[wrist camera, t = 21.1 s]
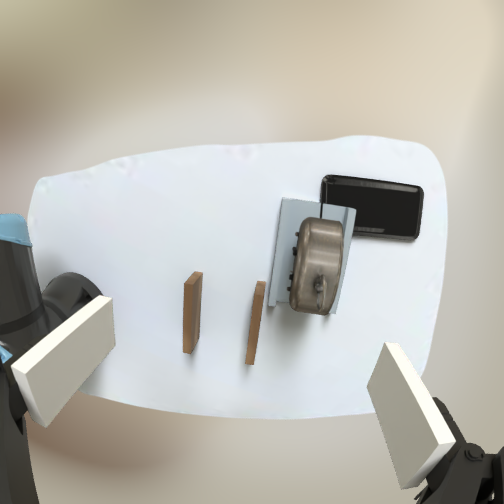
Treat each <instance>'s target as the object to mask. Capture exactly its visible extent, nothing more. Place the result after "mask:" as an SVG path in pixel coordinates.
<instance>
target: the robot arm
mask: <svg viewBox="0 0 504 504" xmlns="http://www.w3.org/2000/svg"><path fill="white" fill-rule="evenodd" d="M115 346H116V345H115V334H114V321H113V305H112V298H109V297H105V296H103V295H102V293H101V292H100V290H99V289H98V288H97V287H96V286H95V285H94V284H93V283H92V282H91V281H90V280H89V279H87V278H86V277H84V276H82V275H80V274H77V273H73V272H67V273H63V274H61V275H59V276H57V277H56V278H54V279H53V280H52V281H51V282H50V283H49V284H48V286H47V287H46V289H45V290H44V291H43V293H42V294H41V291H40V287H39V283H38V279H37V274H36V269H35V264H34V258H33V253H32V243H31V242H30V237H29V233H28V227H27V222H26V221H25V219H24V218H23V217H22V216H21V215H19V214H0V504H39V500H38V496H37V492H36V488H35V483H34V479H33V473H32V468H31V461H30V455H29V448H28V440H27V430H26V421H25V417H24V414H25V412H26V411H27V410H28V412H29V414H30V416H31V418H32V420H33V421H35V422H37V423H38V424H40V425H42V426H43V427H45V428H47V427H48V426H49V424H50V423H51V422H52V420H53V419H54V418H55V417H56V415H57V414H58V413H59V412H60V410H61V409H62V408H63V407H64V406H65V405H66V403H67V402H68V401H69V400H70V398H71V397H72V396H73V395H74V394H75V392H76V391H77V390H78V389H79V388H80V386H81V385H82V384H83V383H84V382H85V380H86V379H87V378H88V377H89V376H90V375H91V373H92V372H93V371H94V370H95V369H96V368H97V366H98V365H99V364H100V363H101V362H102V361H103V359H104V358H105V357H106V356H107V355H108V354H109V352H110V351H111V350H112V349H113V348H114V347H115ZM367 389H368V392H369V395H370V397H371V400H372V403H373V406H374V408H375V411H376V414H377V417H378V420H379V423H380V426H381V428H382V431H383V434H384V437H385V440H386V443H387V446H388V449H389V453H390V456H391V459H392V462H393V465H394V468H395V471H396V475H397V478H398V481H399V485H400V488H401V489H408V488H413V487H418V486H419V485H420V483H421V482H422V481H423V480H424V479H425V478H426V480H427V483H428V485H427V486H426V487H425V488H424V489H423V490H422V491H421V492H420V493H419V494H418V495H417V496H416V497H415V498H414V499H415V500H417V499H418V498H419V497H420V498H419V500H418V501H417V503H416V504H504V447H502V449H501V450H500V451H499V452H498V454H485V452H484V450H483V449H482V448H481V447H480V446H478V445H476V444H473V443H466V441H465V439H464V437H463V435H462V433H461V432H460V430H459V428H458V426H457V425H456V423H455V421H453V418H452V416H451V415H450V414H449V411H448V410H447V408H446V406H445V404H444V403H442V402H441V401H440V400H439V399H438V398H436V397H433V398H432V397H431V396H430V394H429V392H428V391H427V389H426V387H425V385H424V384H423V382H422V381H421V379H420V377H419V376H418V374H417V372H416V371H415V369H414V367H413V366H412V364H411V363H410V361H409V359H408V358H407V356H406V355H405V353H404V352H403V350H402V348H401V347H400V345H399V344H398V343H388V342H385V343H384V345H383V348H382V351H381V353H380V356H379V358H378V361H377V363H376V366H375V368H374V371H373V373H372V375H371V378H370V380H369V382H368V385H367ZM493 493H494V499H493V500H492V494H493Z"/></svg>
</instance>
